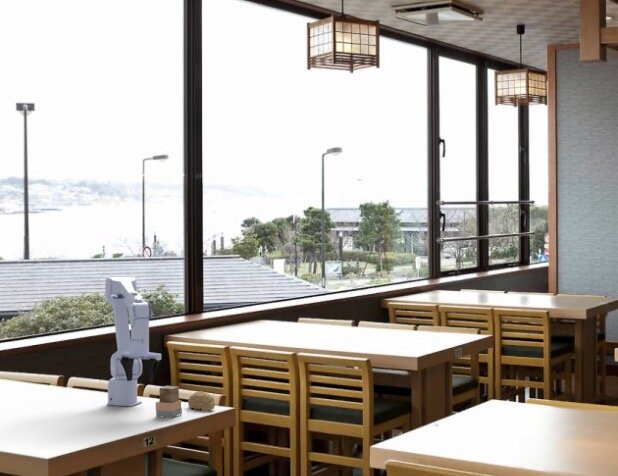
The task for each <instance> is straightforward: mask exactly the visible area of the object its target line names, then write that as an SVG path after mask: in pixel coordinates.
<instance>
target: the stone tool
mask: <svg viewBox="0 0 618 476" xmlns="http://www.w3.org/2000/svg"><path fill="white" fill-rule="evenodd" d="M187 401H188V402H187V405H188V408H189V407H190V408H193V409H194V410H201V411H202V410H206V411H207V412H208V411H211V410H214V409H215V405H216V404H215V398H214V396H212V395H211V394H209V393H207V392H204V391H196V392H194V393H193V394H191V395H189V398H188V400H187ZM190 408H189V409H190ZM206 411H205V412H206Z"/></svg>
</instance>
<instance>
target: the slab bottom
mask: <svg viewBox="0 0 618 476" xmlns="http://www.w3.org/2000/svg"><path fill="white" fill-rule="evenodd" d="M182 411H183V410H182V407H181V408H180V409H177V410H175V411H159V410H156V409H155V417H156V416H163V417H162V418H166V417H174V418H176V417H175V416H177V415H179V414H182V415H183V413H182ZM179 416H180V415H179ZM177 417H178V416H177Z"/></svg>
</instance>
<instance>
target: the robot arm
mask: <svg viewBox="0 0 618 476" xmlns="http://www.w3.org/2000/svg"><path fill="white" fill-rule="evenodd" d="M104 289H105V290H104V291H105V300H106V302H107V303H108V304H110V305H111V307H112V313H113V320H114V330H115V340H116V345H117V346H116V347H117V351H115V352H114V353H112V355H111V357H110V375H111V376H112V378H110V379H109V381H108V383H107V403H106V405H107V406H118V407H119V406H120V407H133V406H136V405H139V404H141V403H143V401H142V400H138V379H139V377H141V375H142V373H143V362H142V360H146V361H145V364H146V369H147V382H148V383H152V382H154V378H155V374H156V371H157V368H158V366H159V364H160V363H161V360H162V353H157V352H150V320H151V318H152V306H151V303H150V301H145V300H144V299H143V297H142V295H141V293H139V292H138V291H137V281H136V278H135V276H120V277H119V276H117V277H116V276H115V277H111V276H108V277H106V278H105V284H104Z"/></svg>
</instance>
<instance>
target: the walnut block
mask: <svg viewBox="0 0 618 476" xmlns="http://www.w3.org/2000/svg"><path fill="white" fill-rule="evenodd" d="M179 391H180V387H179V386H175V385H174V386H173V385H172V386H171V385H165V386H162V387H159V401H160V402H165V403H173V402H176V401H179V400H180V397H179V395H180V392H179Z"/></svg>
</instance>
